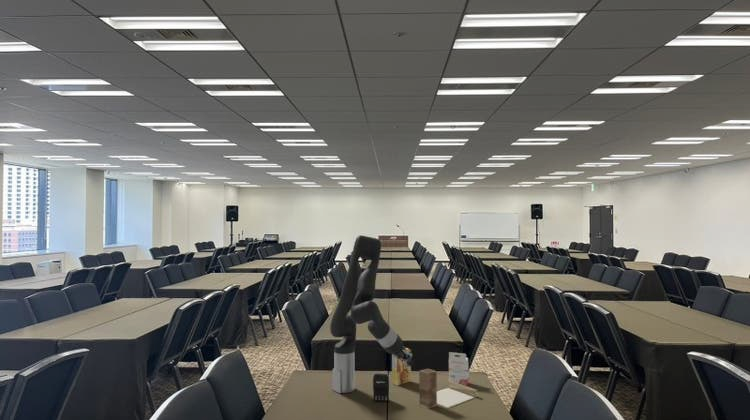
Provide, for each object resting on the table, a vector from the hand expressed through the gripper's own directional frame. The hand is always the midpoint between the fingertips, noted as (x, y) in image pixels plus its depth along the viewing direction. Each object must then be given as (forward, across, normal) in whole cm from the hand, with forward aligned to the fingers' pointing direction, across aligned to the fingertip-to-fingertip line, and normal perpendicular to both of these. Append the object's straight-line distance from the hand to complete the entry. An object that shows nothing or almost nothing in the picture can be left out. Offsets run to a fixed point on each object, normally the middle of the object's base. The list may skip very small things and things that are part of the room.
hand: (411, 364), depth 188 cm
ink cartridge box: (+41, +9, -15) cm, 45 cm away
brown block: (+20, 0, +6) cm, 21 cm away
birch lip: (+35, 0, -9) cm, 36 cm away
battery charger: (+12, +16, +15) cm, 25 cm away
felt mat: (+28, 0, -2) cm, 28 cm away
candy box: (+27, +27, -1) cm, 38 cm away
